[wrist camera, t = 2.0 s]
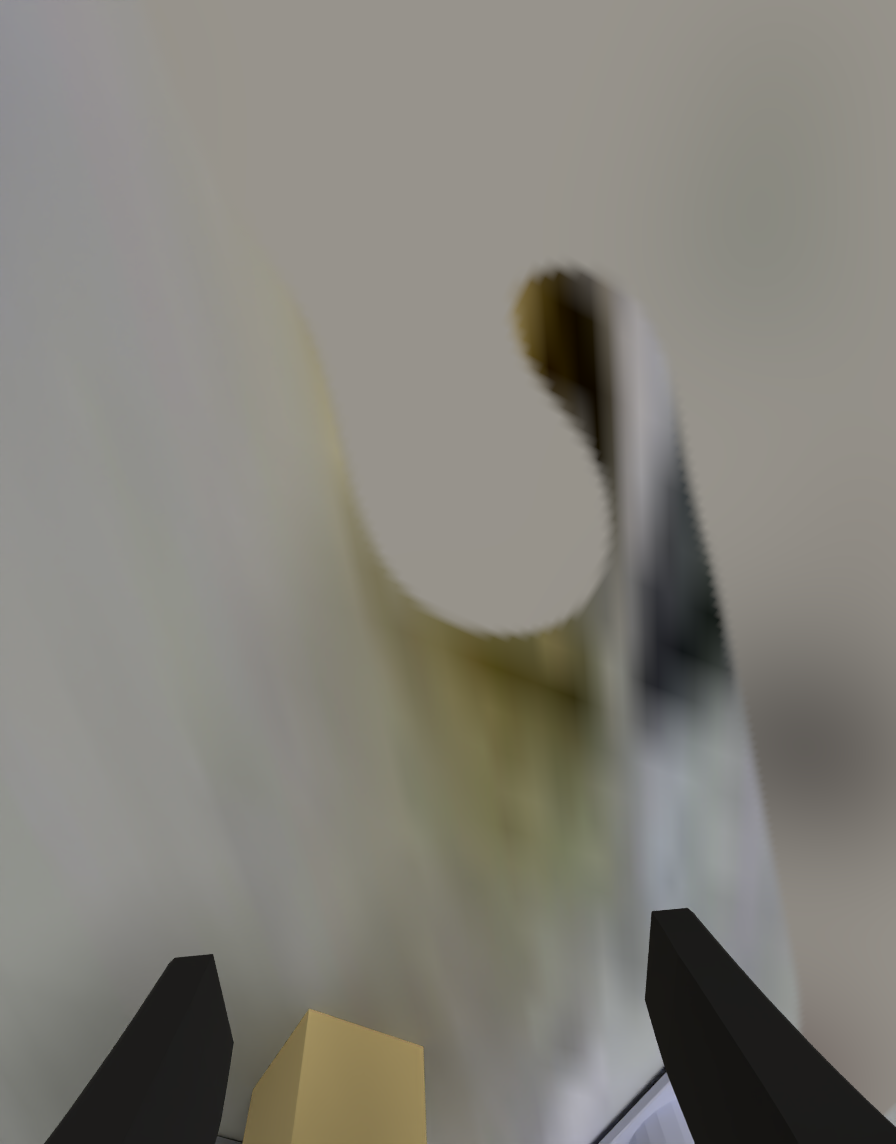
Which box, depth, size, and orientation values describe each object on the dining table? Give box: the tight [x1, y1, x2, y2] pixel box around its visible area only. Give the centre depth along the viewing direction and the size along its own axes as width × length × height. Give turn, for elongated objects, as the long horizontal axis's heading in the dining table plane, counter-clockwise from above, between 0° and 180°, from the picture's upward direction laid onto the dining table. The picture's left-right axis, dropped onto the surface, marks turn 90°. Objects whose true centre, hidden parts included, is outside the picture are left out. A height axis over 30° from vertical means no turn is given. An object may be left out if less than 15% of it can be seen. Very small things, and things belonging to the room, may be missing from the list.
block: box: [242, 1009, 427, 1144], centre depth 21 cm, size 4×4×4 cm
